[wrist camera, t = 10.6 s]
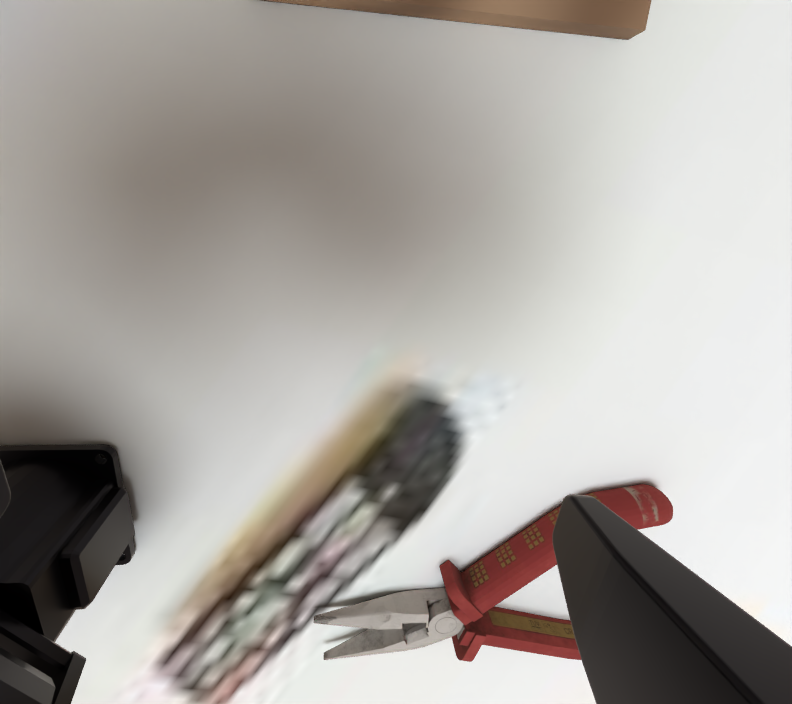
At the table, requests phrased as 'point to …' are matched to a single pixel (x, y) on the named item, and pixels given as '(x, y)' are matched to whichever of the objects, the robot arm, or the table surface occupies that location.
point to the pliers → (485, 595)
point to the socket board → (516, 13)
